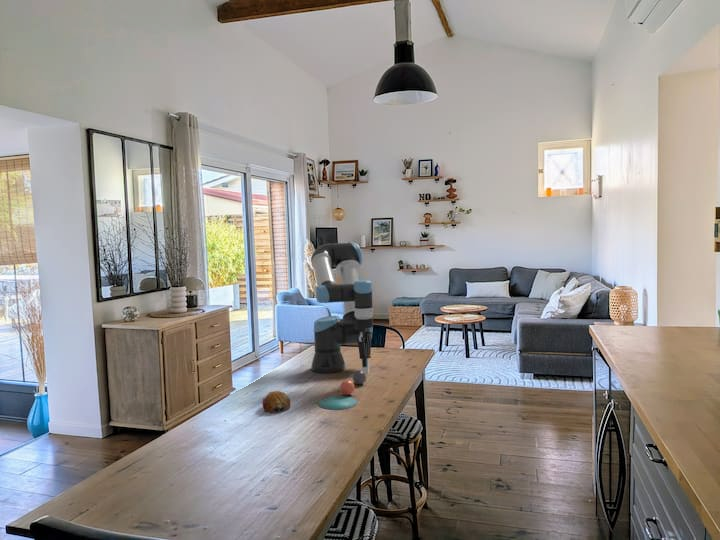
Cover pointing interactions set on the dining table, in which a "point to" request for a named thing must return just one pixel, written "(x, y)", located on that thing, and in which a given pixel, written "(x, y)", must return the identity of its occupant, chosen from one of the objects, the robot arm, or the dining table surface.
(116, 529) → the dining table surface
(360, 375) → the gray ball
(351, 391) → the red ball
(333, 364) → the robot arm
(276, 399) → the bread roll
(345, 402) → the teal mark
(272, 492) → the dining table surface
